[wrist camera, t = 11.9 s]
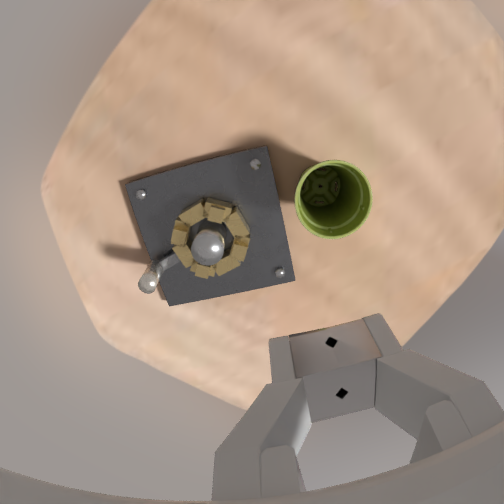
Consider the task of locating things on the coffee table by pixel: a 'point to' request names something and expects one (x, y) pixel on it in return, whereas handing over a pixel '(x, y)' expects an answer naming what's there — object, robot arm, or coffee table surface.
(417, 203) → the coffee table surface
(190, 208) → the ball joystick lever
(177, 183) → the flange plate
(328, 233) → the plant pot
